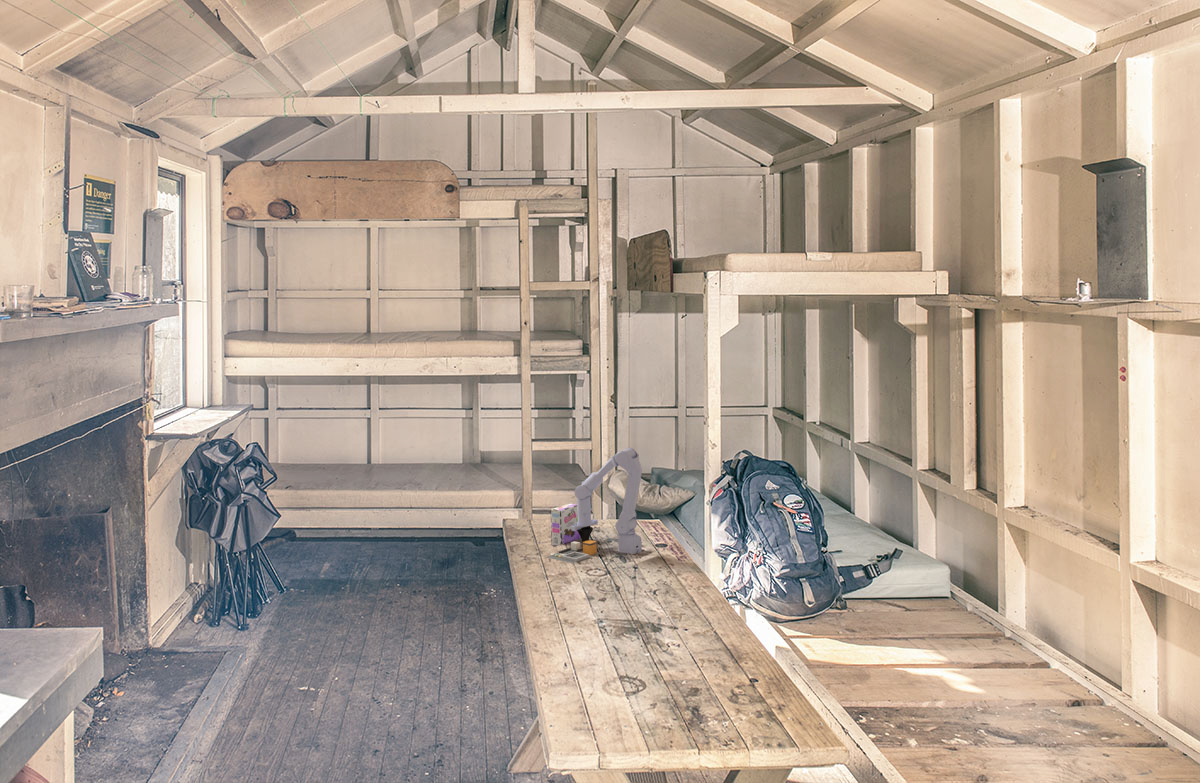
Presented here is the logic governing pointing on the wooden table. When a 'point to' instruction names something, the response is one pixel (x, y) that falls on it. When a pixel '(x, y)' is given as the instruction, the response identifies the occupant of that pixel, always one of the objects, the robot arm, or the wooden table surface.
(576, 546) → the switch
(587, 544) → the cap
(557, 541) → the candy box
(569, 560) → the breaker panel
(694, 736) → the wooden table surface
